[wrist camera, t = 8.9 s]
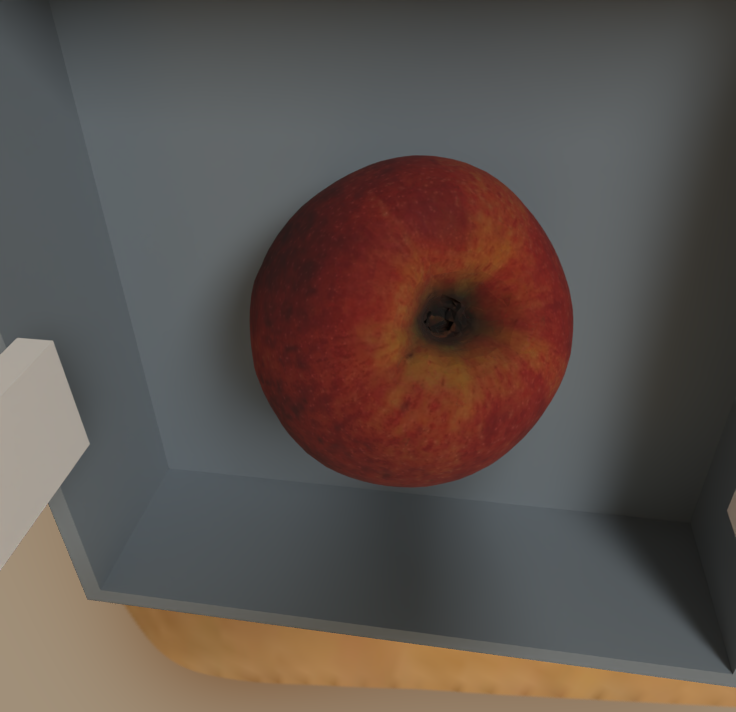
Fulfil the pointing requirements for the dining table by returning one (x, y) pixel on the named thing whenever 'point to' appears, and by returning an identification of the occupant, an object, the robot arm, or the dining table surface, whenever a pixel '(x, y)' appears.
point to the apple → (411, 322)
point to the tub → (257, 233)
